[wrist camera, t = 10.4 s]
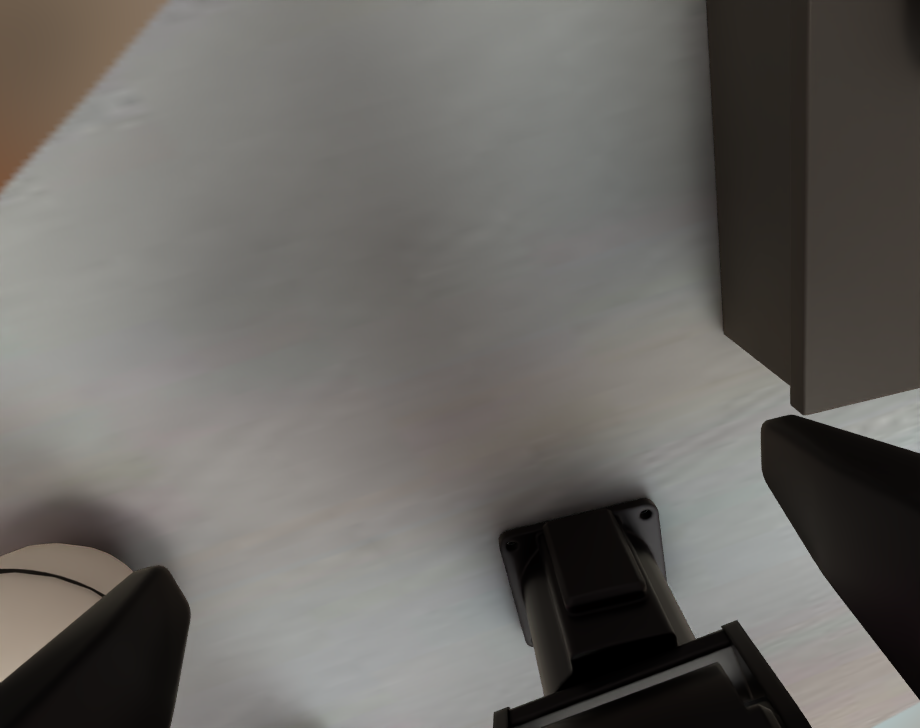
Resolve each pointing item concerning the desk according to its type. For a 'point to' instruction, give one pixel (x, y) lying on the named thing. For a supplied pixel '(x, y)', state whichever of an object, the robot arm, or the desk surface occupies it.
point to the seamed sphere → (48, 595)
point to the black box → (820, 191)
